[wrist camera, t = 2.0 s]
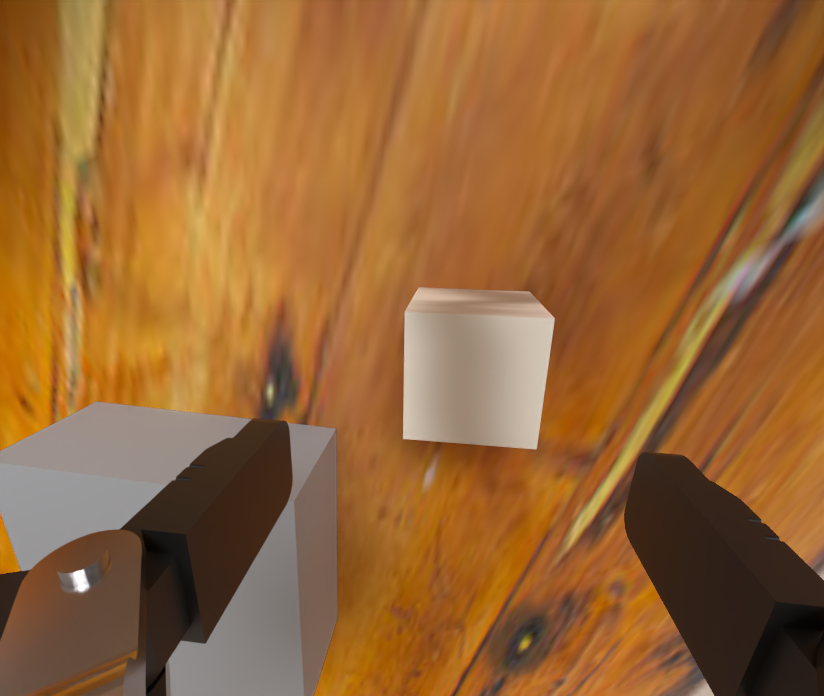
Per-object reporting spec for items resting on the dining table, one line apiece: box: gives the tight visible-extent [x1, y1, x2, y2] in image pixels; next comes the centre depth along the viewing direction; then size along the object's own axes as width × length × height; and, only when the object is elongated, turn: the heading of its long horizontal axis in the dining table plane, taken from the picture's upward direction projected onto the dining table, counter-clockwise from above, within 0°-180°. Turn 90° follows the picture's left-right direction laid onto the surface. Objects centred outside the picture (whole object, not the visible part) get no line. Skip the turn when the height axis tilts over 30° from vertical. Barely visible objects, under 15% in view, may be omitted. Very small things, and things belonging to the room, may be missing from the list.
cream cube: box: [403, 287, 555, 449], centre depth 16 cm, size 5×5×5 cm
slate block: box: [0, 402, 338, 696], centre depth 21 cm, size 14×14×6 cm
